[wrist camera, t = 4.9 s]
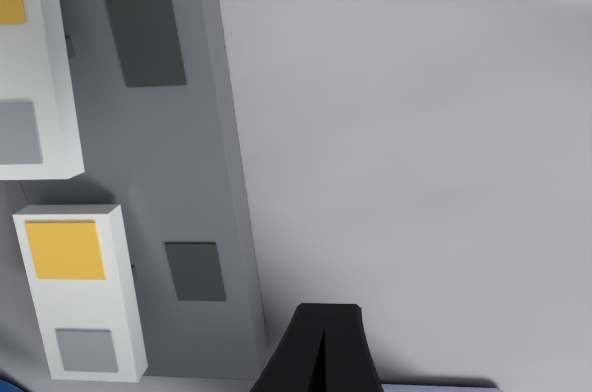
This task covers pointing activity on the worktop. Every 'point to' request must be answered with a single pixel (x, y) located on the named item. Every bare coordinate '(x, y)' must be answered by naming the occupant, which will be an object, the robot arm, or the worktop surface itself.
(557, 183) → the worktop surface
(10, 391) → the snack cup
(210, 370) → the power strip
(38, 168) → the outlet rocker
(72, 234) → the rocker switch
